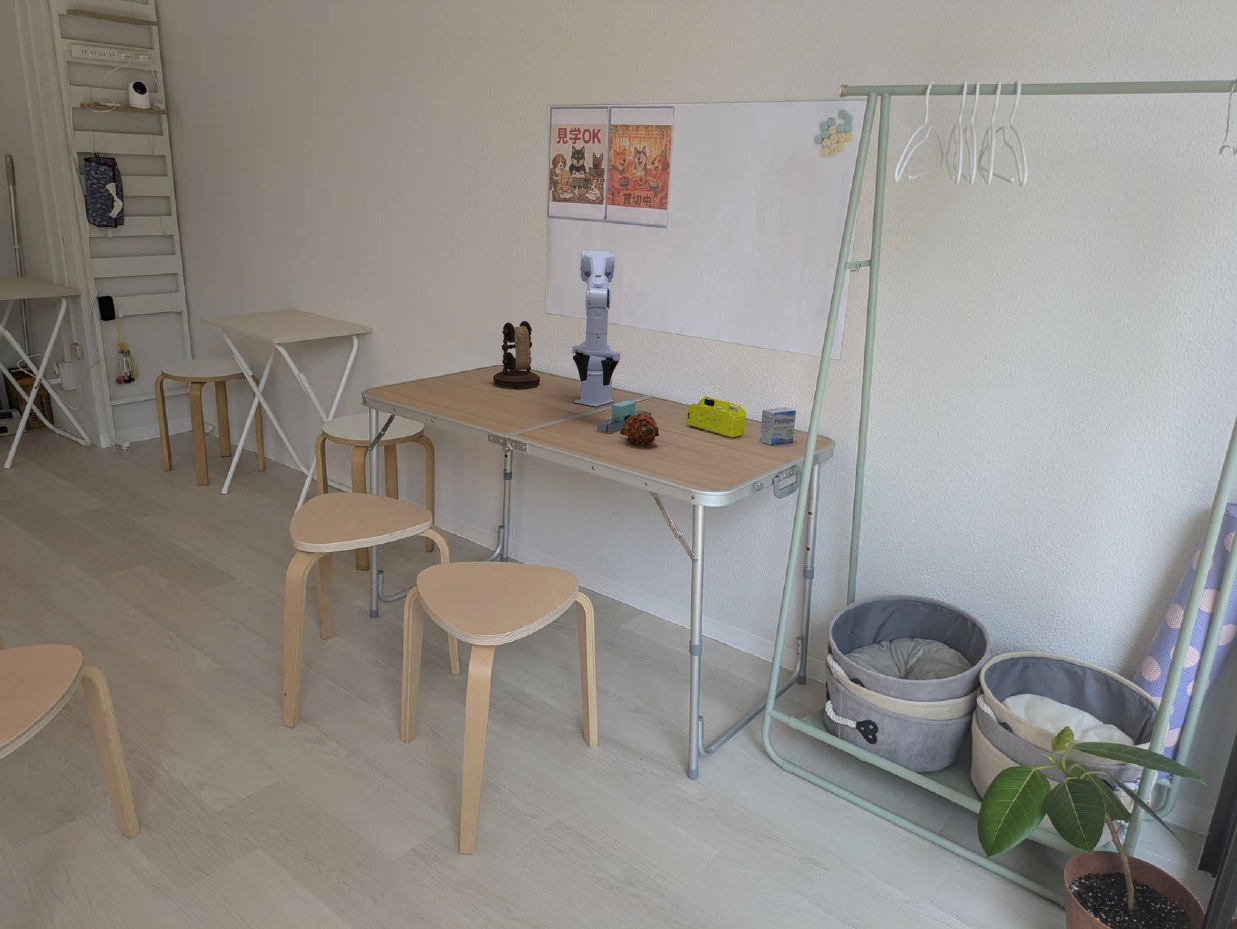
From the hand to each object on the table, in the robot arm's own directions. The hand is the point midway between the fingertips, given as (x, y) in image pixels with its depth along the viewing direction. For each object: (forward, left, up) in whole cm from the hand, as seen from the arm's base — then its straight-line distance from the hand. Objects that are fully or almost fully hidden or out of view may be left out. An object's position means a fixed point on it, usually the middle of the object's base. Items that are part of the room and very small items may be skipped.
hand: (594, 382), depth 251 cm
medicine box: (-15, +48, -11) cm, 52 cm away
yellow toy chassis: (-13, +31, -11) cm, 35 cm away
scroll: (-19, -44, -11) cm, 49 cm away
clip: (-1, +9, -10) cm, 14 cm away
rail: (-1, +9, -10) cm, 14 cm away
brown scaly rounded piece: (+11, +22, -11) cm, 27 cm away
